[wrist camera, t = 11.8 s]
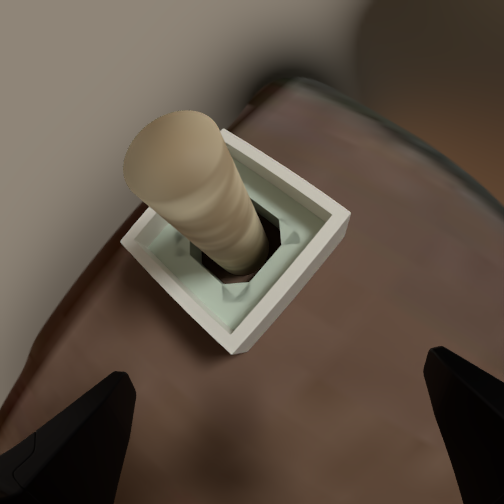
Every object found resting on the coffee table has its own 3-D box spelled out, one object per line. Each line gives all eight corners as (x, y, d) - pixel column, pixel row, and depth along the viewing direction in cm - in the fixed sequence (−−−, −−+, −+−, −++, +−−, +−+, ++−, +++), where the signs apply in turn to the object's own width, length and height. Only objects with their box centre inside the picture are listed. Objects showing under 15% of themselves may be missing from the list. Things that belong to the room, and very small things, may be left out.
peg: (235, 286, 23) (148, 223, 10) (205, 244, 24) (110, 154, 12) (280, 252, 23) (243, 152, 10) (248, 212, 24) (188, 95, 12)
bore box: (247, 351, 21) (231, 354, 17) (149, 258, 25) (120, 241, 20) (344, 236, 22) (351, 212, 18) (237, 160, 25) (223, 128, 21)
